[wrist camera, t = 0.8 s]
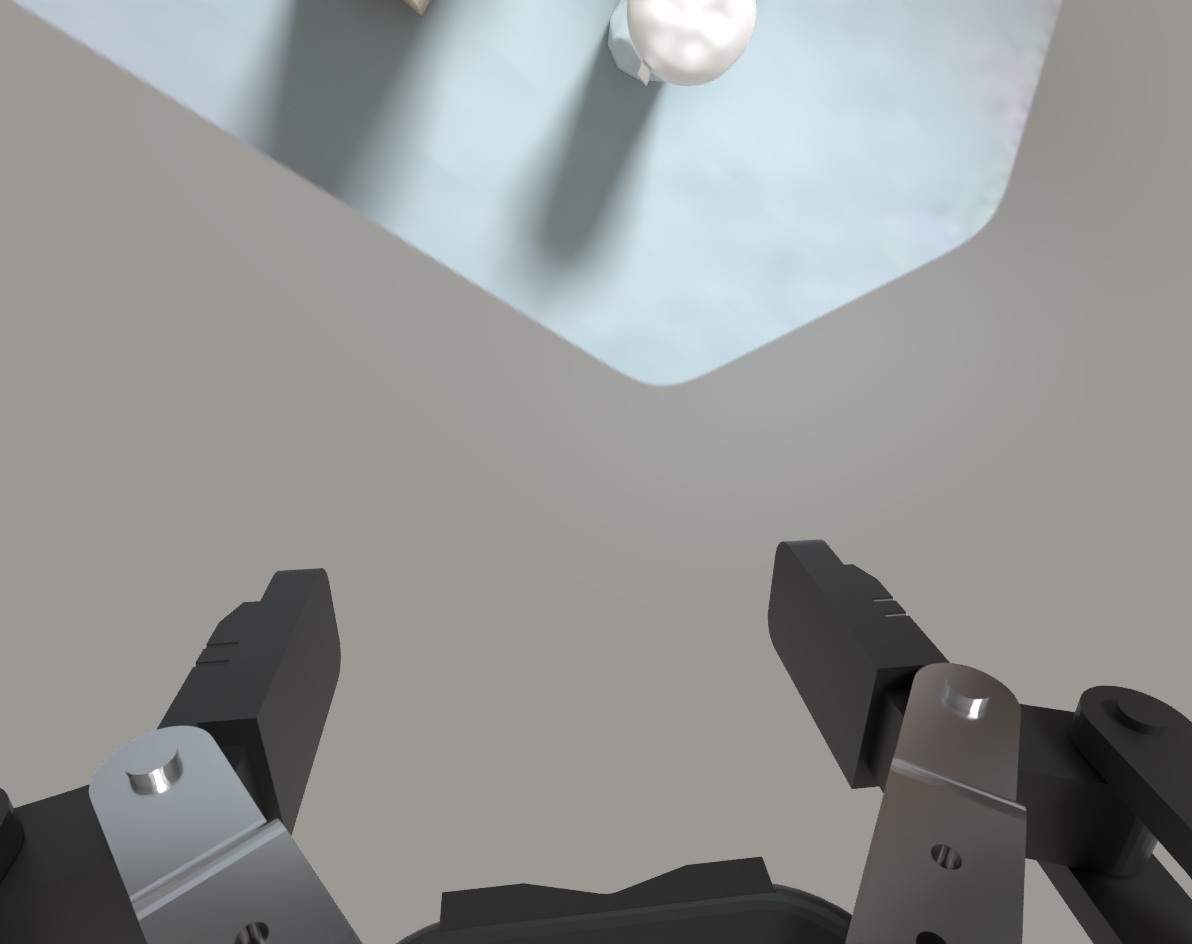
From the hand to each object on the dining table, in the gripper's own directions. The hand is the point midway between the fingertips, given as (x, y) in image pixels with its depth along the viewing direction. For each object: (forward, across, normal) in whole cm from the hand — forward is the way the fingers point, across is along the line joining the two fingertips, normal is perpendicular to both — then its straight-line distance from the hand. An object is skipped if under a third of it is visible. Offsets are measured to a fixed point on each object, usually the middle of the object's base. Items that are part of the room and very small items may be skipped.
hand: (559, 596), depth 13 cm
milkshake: (+26, -6, -11) cm, 29 cm away
